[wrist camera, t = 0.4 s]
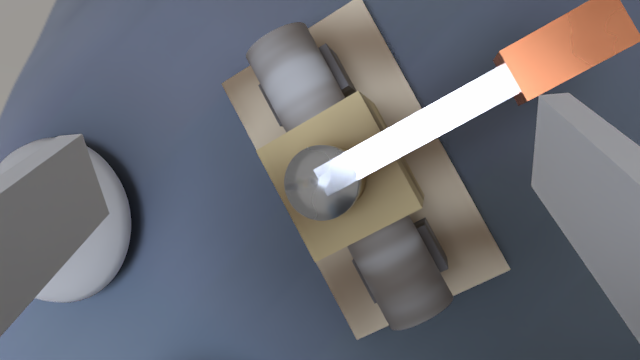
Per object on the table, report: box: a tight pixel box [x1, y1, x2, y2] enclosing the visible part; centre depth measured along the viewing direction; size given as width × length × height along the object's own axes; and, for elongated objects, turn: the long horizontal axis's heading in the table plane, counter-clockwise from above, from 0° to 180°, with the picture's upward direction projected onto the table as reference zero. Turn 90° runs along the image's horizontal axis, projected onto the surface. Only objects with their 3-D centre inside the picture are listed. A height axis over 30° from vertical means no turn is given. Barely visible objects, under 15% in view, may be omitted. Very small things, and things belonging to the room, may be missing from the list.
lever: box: [284, 0, 640, 221], centre depth 19 cm, size 14×3×2 cm, turn 119°
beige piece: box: [222, 0, 511, 340], centre depth 26 cm, size 18×10×10 cm, turn 29°
